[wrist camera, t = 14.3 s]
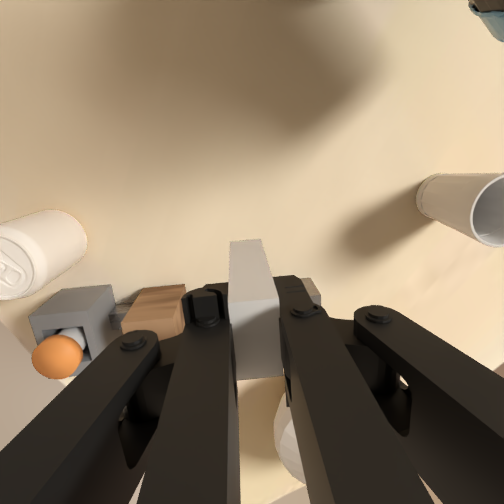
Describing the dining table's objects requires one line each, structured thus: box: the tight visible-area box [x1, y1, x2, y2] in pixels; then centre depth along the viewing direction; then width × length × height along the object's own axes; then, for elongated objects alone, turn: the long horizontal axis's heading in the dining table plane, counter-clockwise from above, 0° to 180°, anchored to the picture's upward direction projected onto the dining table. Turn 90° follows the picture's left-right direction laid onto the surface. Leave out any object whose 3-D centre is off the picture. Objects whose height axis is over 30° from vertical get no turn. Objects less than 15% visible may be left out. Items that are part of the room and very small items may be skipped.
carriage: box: [121, 284, 186, 341], centre depth 43 cm, size 7×6×10 cm
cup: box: [416, 173, 504, 247], centre depth 40 cm, size 8×8×12 cm
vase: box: [274, 391, 306, 484], centre depth 46 cm, size 18×18×19 cm
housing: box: [28, 285, 123, 379], centre depth 44 cm, size 9×7×8 cm
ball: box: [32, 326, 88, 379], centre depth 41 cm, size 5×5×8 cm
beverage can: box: [0, 209, 87, 300], centre depth 38 cm, size 8×8×12 cm
